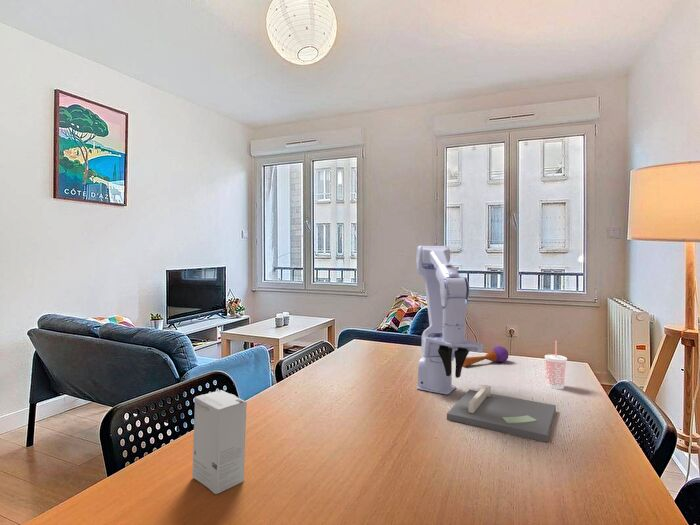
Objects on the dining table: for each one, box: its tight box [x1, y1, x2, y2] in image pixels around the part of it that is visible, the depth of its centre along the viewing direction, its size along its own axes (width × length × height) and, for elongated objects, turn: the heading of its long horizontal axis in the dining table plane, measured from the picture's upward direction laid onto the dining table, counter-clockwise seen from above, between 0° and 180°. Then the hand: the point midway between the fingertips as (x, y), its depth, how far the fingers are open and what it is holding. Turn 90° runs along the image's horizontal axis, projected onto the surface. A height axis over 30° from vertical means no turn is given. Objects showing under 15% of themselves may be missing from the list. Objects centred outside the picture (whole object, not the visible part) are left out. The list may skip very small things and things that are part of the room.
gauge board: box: [446, 389, 557, 443], centre depth 102 cm, size 22×20×2 cm
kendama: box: [462, 345, 509, 368], centre depth 148 cm, size 6×6×20 cm
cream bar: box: [468, 384, 492, 413], centre depth 106 cm, size 16×3×2 cm, turn 148°
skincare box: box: [191, 389, 248, 495], centre depth 73 cm, size 8×6×15 cm
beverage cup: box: [544, 340, 568, 390], centre depth 123 cm, size 6×6×14 cm
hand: (453, 375), depth 106 cm, fingers closed
